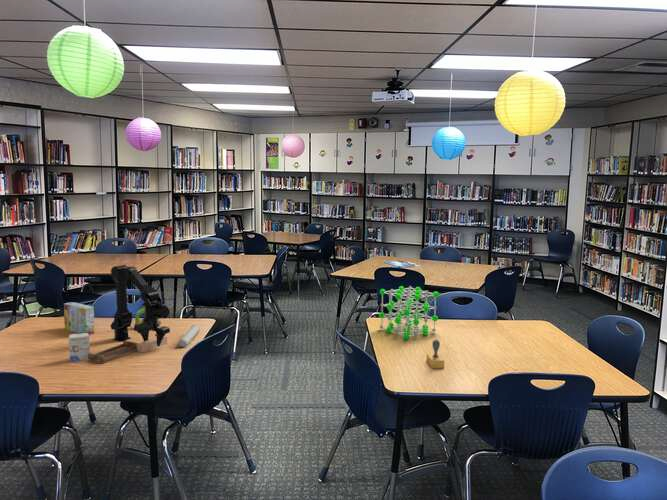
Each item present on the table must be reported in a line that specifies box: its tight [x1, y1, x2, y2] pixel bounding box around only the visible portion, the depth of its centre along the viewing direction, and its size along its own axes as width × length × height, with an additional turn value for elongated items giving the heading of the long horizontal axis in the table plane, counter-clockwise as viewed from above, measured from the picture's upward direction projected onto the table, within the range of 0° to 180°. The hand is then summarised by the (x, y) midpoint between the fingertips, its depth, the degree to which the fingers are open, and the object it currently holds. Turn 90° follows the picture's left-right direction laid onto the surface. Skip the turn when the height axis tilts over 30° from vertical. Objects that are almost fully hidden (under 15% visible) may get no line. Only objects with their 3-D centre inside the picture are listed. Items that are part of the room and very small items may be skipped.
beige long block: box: [136, 335, 168, 353], centre depth 261 cm, size 4×16×4 cm, turn 151°
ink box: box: [68, 333, 91, 363], centre depth 242 cm, size 9×5×12 cm, turn 117°
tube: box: [178, 324, 201, 348], centre depth 273 cm, size 5×5×25 cm
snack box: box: [63, 301, 95, 335], centre depth 286 cm, size 21×6×15 cm, turn 58°
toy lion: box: [134, 301, 162, 327], centre depth 297 cm, size 16×5×15 cm, turn 133°
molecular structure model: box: [378, 285, 440, 341], centre depth 293 cm, size 24×25×24 cm
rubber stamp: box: [426, 339, 445, 369], centre depth 241 cm, size 10×6×12 cm, turn 5°
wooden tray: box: [88, 340, 139, 365], centre depth 249 cm, size 9×22×3 cm, turn 156°
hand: (152, 345), depth 261 cm, fingers open, 8 cm apart
